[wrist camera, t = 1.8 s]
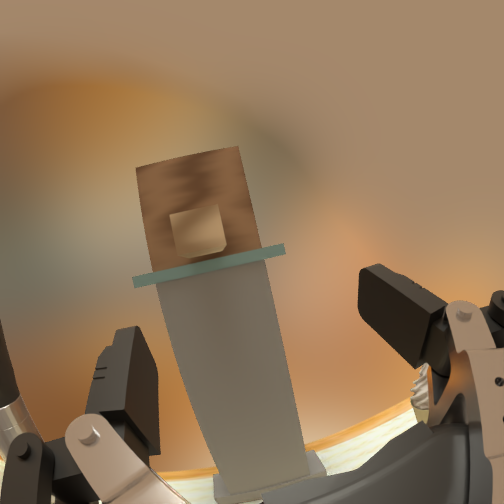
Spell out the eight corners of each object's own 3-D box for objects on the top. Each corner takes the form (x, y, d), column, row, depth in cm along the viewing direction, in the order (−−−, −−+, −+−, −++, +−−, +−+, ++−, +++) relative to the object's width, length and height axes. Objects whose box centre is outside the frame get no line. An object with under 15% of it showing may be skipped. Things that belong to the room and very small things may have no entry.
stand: (219, 506, 23) (132, 277, 23) (217, 482, 28) (145, 275, 28) (327, 479, 25) (283, 243, 25) (315, 458, 30) (271, 246, 30)
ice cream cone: (418, 428, 28) (419, 339, 28) (447, 433, 24) (455, 339, 24) (400, 450, 25) (402, 358, 25) (432, 458, 21) (442, 361, 21)
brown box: (125, 276, 16) (107, 130, 16) (162, 271, 28) (146, 181, 28) (284, 240, 17) (248, 100, 17) (254, 250, 30) (234, 162, 30)
